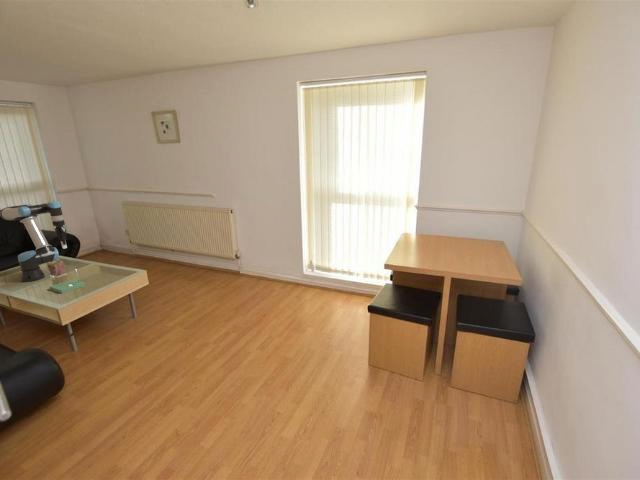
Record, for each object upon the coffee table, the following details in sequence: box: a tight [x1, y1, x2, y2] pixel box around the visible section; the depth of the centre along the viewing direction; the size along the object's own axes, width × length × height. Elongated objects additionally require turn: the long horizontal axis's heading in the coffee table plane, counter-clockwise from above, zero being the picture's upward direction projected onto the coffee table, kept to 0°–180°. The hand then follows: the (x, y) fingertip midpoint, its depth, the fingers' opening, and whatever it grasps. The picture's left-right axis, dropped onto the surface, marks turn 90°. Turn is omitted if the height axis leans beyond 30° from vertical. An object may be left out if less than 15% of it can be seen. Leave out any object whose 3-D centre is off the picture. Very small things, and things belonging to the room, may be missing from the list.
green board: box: [48, 279, 86, 294], centre depth 246 cm, size 18×16×2 cm
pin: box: [74, 265, 81, 282], centre depth 247 cm, size 4×1×14 cm, turn 63°
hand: (64, 248), depth 260 cm, fingers closed
